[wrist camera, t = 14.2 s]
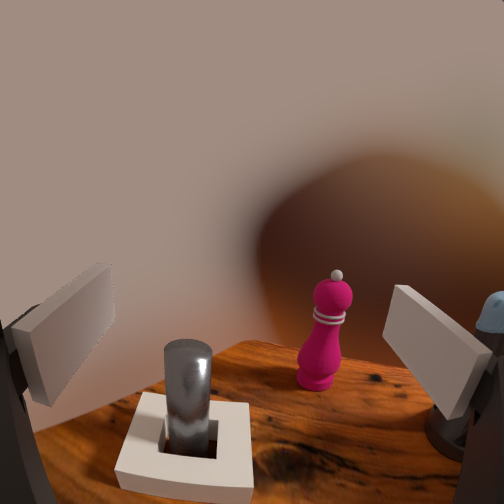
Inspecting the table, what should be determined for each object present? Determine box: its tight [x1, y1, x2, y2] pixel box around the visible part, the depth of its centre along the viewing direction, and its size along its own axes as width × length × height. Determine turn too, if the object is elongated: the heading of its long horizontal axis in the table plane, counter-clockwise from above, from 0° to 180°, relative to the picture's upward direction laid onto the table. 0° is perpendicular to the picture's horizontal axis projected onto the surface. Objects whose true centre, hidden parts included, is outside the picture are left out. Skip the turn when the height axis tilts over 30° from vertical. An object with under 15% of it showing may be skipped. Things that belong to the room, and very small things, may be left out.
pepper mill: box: [296, 270, 352, 391], centre depth 48 cm, size 7×7×20 cm
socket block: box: [114, 392, 254, 504], centre depth 31 cm, size 14×14×4 cm
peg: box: [164, 339, 212, 459], centre depth 30 cm, size 4×4×16 cm
